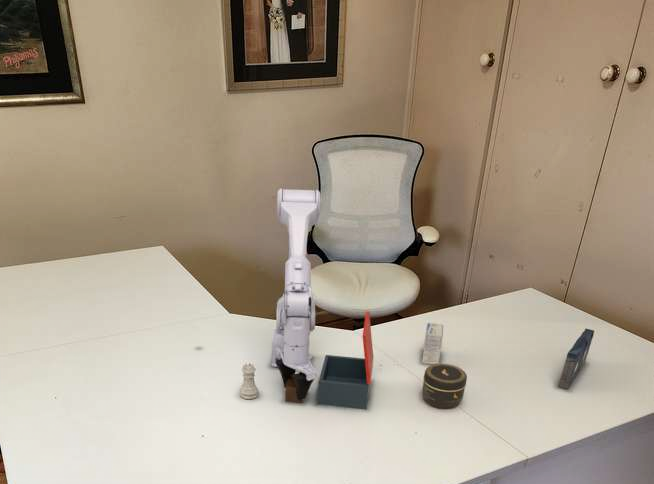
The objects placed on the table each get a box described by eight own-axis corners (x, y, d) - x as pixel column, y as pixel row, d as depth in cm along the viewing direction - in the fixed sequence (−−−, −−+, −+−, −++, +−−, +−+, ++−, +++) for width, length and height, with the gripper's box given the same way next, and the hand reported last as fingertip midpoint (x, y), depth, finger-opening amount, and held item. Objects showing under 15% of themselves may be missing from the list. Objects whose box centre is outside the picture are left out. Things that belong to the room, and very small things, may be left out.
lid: (362, 335, 136) (365, 335, 136) (366, 311, 147) (369, 311, 147) (367, 384, 142) (370, 384, 142) (370, 357, 154) (373, 357, 154)
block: (285, 401, 147) (285, 386, 145) (288, 392, 151) (288, 378, 149) (301, 403, 147) (302, 388, 145) (304, 394, 150) (304, 380, 148)
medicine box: (438, 365, 166) (443, 336, 161) (421, 363, 166) (425, 334, 162) (439, 352, 172) (443, 323, 168) (423, 350, 173) (427, 322, 168)
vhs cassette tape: (575, 360, 171) (585, 327, 166) (586, 363, 170) (597, 330, 164) (555, 386, 158) (565, 352, 153) (567, 390, 157) (578, 355, 152)
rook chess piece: (261, 392, 150) (261, 363, 146) (253, 401, 147) (253, 372, 142) (244, 389, 152) (243, 360, 147) (236, 398, 148) (235, 368, 144)
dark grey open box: (317, 404, 147) (318, 381, 144) (324, 376, 158) (325, 354, 155) (366, 409, 146) (368, 386, 142) (369, 381, 157) (371, 359, 154)
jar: (437, 415, 145) (442, 386, 141) (412, 394, 152) (416, 367, 148) (470, 405, 149) (476, 378, 145) (444, 386, 156) (449, 359, 152)
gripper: (328, 350, 138) (325, 402, 145) (295, 326, 148) (294, 375, 155) (301, 357, 134) (299, 410, 142) (269, 331, 145) (269, 382, 152)
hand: (295, 393), depth 148 cm, fingers closed on block, 5 cm apart
